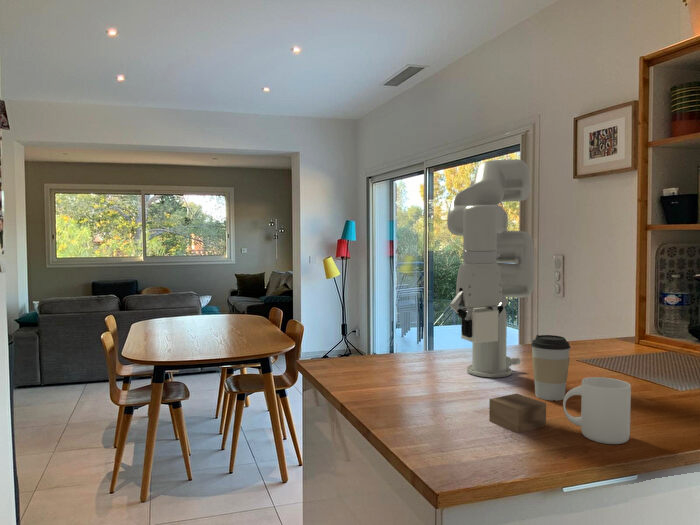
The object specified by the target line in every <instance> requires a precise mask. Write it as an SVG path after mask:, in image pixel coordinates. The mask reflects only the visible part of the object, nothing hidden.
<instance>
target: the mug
mask: <svg viewBox="0 0 700 525" xmlns="http://www.w3.org/2000/svg"><path fill="white" fill-rule="evenodd" d="M572 396H573V397H574V396H581V397H580V398H581V405H580V408H581V409H580V410H581V411H580V413H581V414H580V416H573V415H571V414H570V413H569V412H568V411H567V409H566V404H567V402H568V401H567V400H568V399H569V398H570V397H572ZM631 397H632V386H631V384H630V383H629V382H627V381H624V380H622V379H617V378H611V377H605V376H604V377H603V376H593V377H592V376H591V377H590V376H588V377H584V378H582V379H581V385H579V386H576V387H573V388H571V389H569V390H568V391H567V392H565V397H564V399H563V402H562V407H563V412H564V415H565V418H567V420H568V421H569V422H570V423H571V424H573V425H575V426H577V427H581V428H580V430H581V434H582V436H584V438H587V439H588V440H591V441H593V442H596V443H600V444H607V445H621V444H625V443H627V442H628V441H629V440H630V436H631V400H632V399H631Z"/></svg>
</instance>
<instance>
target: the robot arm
mask: <svg viewBox="0 0 700 525" xmlns="http://www.w3.org/2000/svg"><path fill="white" fill-rule="evenodd" d="M530 192H531V174H530V169H529V167H528V164H527V163H526V162H525V161H524V160H522V159H520V158H519V159H518V158H515V159H513V158H512V159H495V160H492V159H491V160H487V161H486V160H485V161H483V162H482V163H480V164H479V165H478V166H477V167H476V169H475V174H474V178H473V179H471V182H470V186H468V187H466V188H464V189H463V190H461V191H458V192H457V193H456V194H455V195H454V196H453V197H452V199H451V202H450V206H449V208H448V212H447V219H446V225H447V228H448V231H449V233H451V234H452V235H454V236H458V237H460V236H461V237H462V243H463V244H462V248H463V249H462V250H463V252H462V264H459V267H458V270H457V277H456V288H455V297H454V298H453V299H452V301H451V302H450V303H449V308H451V309H452V310H453V311H454V313H456V315H457V317H458V318H459V319H460V320H461V319H462V335H463V336H466V337H469V338H470V337H472V320H470V317H471V314H472V311H473V308H482V307H484V308H487V309H492V310H496V311H498V341H493V342H484V343H473V342H472V352H471V353H472V360H471V362H472V364H469V365H468V366H467V367H466V371H467V373H468V374H470V375H473V376H476V377H481V378H482V377H483V378H506V377H509V376H511V375H512V372H513V369H512V368H511V366H513V365H515V366H516V365H520V363H521V359H520V357H512V358H511V357H510V356H507V337H508V336H507V335H508V334H507V333H508V332H507V324H508V323H507V321H508V320H507V319H508V318H507V316H508V315H507V310H506V309H505V307H506V306H507V305H508V303H509V299H508V298H517V299H518V298H527V297H530V296H531V294H532V292H533V290H534V285H535V284H534V282H535V280H534V277H535V276H534V271H535V270H534V269H535V268H534V266H535V264H534V261H535V259H534V257H535V256H534V254H535V253H534V251H535V250H534V249H535V248H534V241H533V237H532V236H531V234H530V233H529V232H527V231H523V230H522V231H521V230H508V222H509V218H508V217H509V216H508V213H507V211H506V210H505V209H504V207H503V206H501V205H499V204H501V203H504V202H523V201H526V200H527V199H528V198H529V195H530ZM466 310H467V311H466Z"/></svg>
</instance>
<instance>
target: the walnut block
mask: <svg viewBox="0 0 700 525" xmlns="http://www.w3.org/2000/svg"><path fill="white" fill-rule="evenodd" d="M488 403H489V405H488V406H489V408H488V409H489V410H488V411H489V416H488V417H489V418H488V420H489V422H490V423H493V424H495V425H497V426H500V427H502V428H504V429H506V430H507V429H508V430H510V431H512V432H515V433H517V434H520V433H523V432H524V433H525V432H529V431H533V430H536V429H540V428H544V426H545V427H546V425H547V403H546V402H544V401H540V400H538V399H534V398H531V397H528V396H526V395H522V394H519V393H514V394H508V395H502V396H498V397H494V398H489V402H488Z"/></svg>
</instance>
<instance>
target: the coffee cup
mask: <svg viewBox="0 0 700 525" xmlns="http://www.w3.org/2000/svg"><path fill="white" fill-rule="evenodd" d="M566 339H567V338H565V337H564V336H561V335H552V334H540V335H539V334H536V336H535V338H534V339H533V340H532V341H531V342H532V343H531V344H530V345H531V348H532V350H531V351H532V354H531V357H532V358H531V359H532V361H531V362H532V371H533V373H532V374H533V379H534V393H535V397H537V398H539V399H541V400H546V401H553V400H555V401H562V400H564V397H565V395H566V389H567V382H568V375H569V374H568V373H569V364H570V349H571V345H570V343H569V341H567V340H566Z"/></svg>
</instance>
